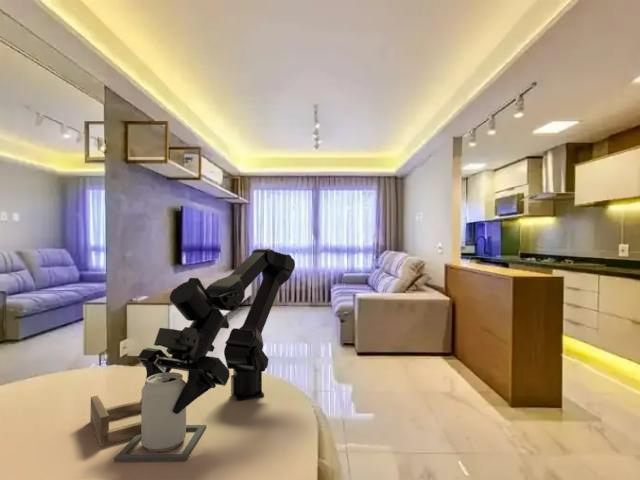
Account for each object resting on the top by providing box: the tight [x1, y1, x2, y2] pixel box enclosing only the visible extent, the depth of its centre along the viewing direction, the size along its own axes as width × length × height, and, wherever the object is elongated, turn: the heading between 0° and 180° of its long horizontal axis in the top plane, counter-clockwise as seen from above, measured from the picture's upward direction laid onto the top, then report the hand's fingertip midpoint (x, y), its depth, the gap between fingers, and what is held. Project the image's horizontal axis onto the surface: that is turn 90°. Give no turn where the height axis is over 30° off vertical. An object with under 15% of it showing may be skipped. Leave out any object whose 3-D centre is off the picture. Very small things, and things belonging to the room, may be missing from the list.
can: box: [140, 371, 187, 453], centre depth 70 cm, size 8×8×12 cm
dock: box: [90, 395, 142, 447], centre depth 78 cm, size 12×12×5 cm
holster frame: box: [113, 424, 207, 463], centre depth 70 cm, size 12×12×1 cm
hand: (158, 409), depth 69 cm, fingers closed on can, 7 cm apart
